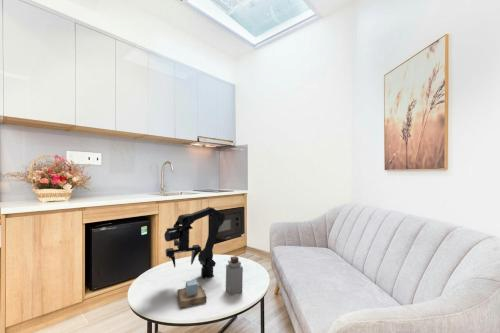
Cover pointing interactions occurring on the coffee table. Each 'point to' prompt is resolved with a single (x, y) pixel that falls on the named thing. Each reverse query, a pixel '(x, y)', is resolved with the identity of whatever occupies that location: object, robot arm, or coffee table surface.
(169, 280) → the coffee table surface
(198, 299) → the walnut plinth
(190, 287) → the slate block
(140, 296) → the coffee table surface
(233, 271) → the perfume bottle
